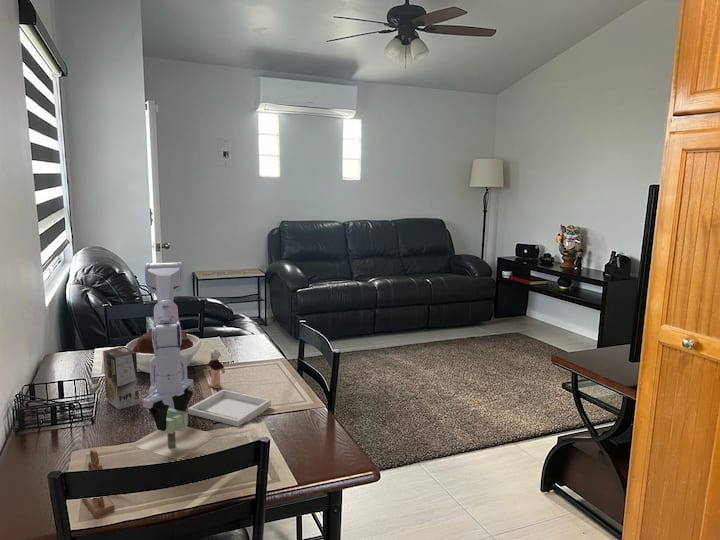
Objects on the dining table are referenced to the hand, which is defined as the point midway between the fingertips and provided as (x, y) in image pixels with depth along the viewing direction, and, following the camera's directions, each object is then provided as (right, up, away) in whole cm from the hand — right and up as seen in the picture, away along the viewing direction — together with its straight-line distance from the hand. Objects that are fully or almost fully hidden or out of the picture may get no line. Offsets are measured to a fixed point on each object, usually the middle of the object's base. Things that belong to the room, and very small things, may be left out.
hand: (170, 424), depth 129 cm
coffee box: (-25, -2, +28) cm, 38 cm away
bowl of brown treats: (-23, +3, +57) cm, 61 cm away
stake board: (-1, -6, +5) cm, 8 cm away
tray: (+9, -3, +23) cm, 25 cm away
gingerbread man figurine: (-8, -11, -20) cm, 24 cm away
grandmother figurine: (0, 0, +41) cm, 41 cm away
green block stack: (0, -1, 0) cm, 1 cm away
